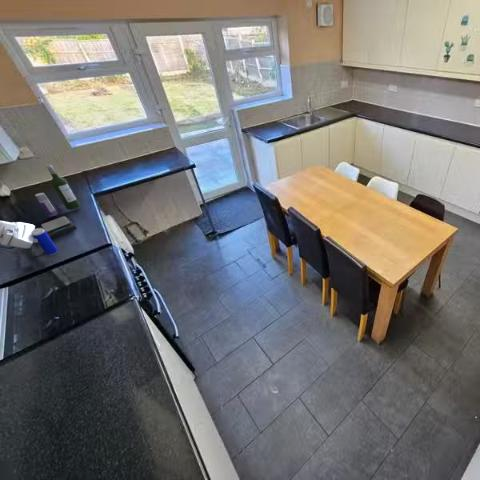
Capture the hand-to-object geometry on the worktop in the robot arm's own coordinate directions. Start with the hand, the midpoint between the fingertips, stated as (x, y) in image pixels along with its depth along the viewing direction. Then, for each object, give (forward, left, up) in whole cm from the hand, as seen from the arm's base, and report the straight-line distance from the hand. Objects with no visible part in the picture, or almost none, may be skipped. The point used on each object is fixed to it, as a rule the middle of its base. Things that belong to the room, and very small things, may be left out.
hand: (44, 239), depth 144 cm
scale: (+8, +28, -11) cm, 31 cm away
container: (+10, +52, -11) cm, 54 cm away
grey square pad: (+8, +29, -8) cm, 31 cm away
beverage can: (-1, 0, -8) cm, 9 cm away
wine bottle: (+22, +52, -11) cm, 57 cm away
